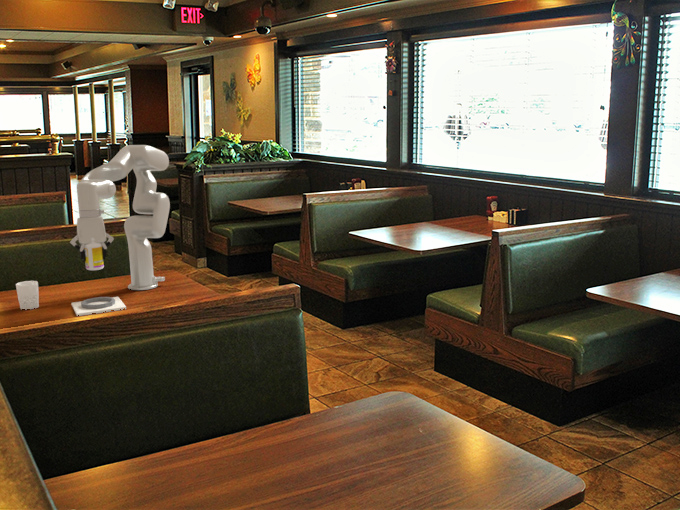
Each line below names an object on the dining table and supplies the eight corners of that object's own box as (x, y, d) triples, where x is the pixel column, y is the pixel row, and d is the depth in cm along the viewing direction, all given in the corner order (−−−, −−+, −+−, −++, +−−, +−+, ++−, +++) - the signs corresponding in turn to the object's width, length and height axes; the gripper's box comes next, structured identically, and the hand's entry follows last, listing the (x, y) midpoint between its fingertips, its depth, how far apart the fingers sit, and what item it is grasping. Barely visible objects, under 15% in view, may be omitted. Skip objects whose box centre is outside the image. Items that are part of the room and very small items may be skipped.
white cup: (23, 305, 266) (20, 281, 264) (43, 304, 266) (40, 280, 264) (15, 310, 258) (12, 285, 256) (36, 310, 259) (33, 285, 257)
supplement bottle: (106, 267, 261) (104, 234, 258) (99, 270, 254) (96, 237, 252) (90, 267, 261) (87, 234, 259) (82, 270, 255) (79, 237, 252)
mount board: (118, 298, 273) (117, 293, 272) (126, 309, 257) (125, 303, 257) (71, 305, 265) (71, 299, 264) (76, 316, 249) (76, 309, 249)
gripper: (111, 211, 261) (115, 255, 264) (64, 214, 253) (69, 260, 256) (115, 213, 254) (118, 259, 258) (66, 217, 246) (71, 264, 250)
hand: (94, 259), depth 257 cm, fingers closed on supplement bottle, 6 cm apart
